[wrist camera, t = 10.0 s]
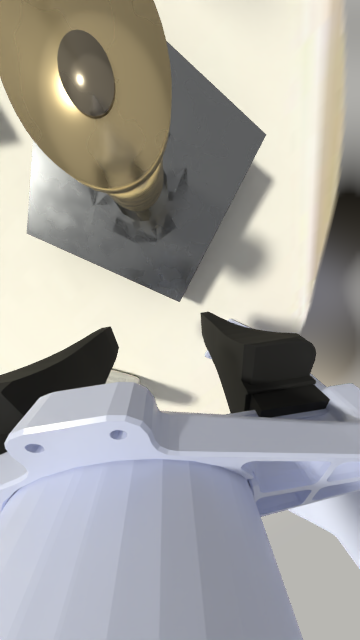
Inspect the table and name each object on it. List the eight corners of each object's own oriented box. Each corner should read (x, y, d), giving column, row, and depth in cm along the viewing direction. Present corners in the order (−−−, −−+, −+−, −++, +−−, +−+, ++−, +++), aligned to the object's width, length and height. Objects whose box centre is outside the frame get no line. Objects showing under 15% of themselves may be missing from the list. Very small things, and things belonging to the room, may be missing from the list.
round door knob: (181, 153, 10) (201, 20, 4) (153, 230, 12) (139, 214, 6) (105, 97, 9) (-25, -218, 3) (87, 193, 11) (-16, 124, 5)
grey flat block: (245, 157, 15) (266, 134, 12) (177, 293, 21) (179, 302, 18) (80, 18, 11) (47, -71, 8) (52, 235, 17) (26, 233, 14)
